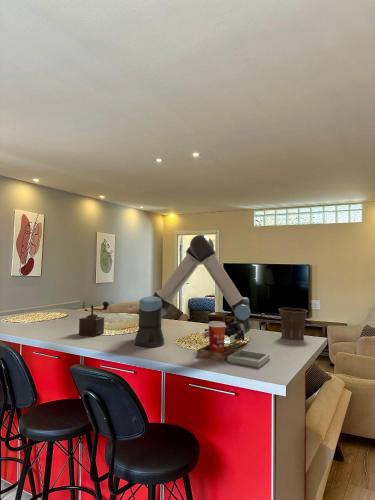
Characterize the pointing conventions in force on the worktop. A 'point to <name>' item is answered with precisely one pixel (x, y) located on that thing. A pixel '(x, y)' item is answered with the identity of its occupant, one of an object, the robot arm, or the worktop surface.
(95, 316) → the pepper mill
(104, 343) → the worktop surface
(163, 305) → the robot arm
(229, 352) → the walnut tray
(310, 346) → the worktop surface
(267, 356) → the green square tray
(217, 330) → the coffee cup
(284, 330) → the plant pot
